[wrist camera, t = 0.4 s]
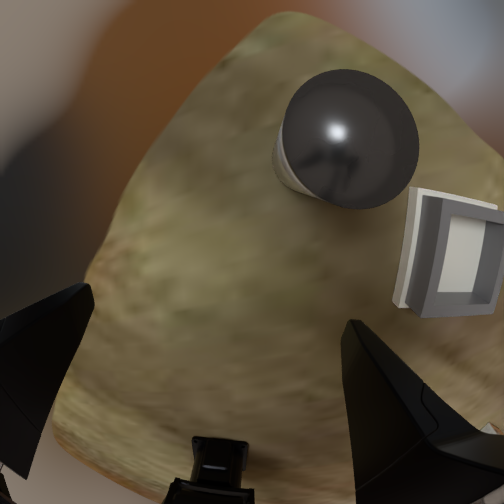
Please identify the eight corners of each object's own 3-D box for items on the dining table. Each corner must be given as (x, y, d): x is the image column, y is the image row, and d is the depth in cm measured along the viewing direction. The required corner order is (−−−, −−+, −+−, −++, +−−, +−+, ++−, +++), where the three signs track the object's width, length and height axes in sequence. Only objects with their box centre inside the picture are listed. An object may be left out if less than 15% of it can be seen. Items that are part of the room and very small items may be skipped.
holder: (469, 300, 23) (494, 318, 19) (391, 301, 23) (413, 323, 19) (488, 203, 21) (518, 209, 16) (409, 186, 21) (438, 189, 16)
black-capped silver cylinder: (334, 195, 21) (413, 216, 9) (269, 189, 22) (278, 202, 9) (338, 131, 20) (418, 86, 8) (273, 124, 20) (286, 60, 8)
